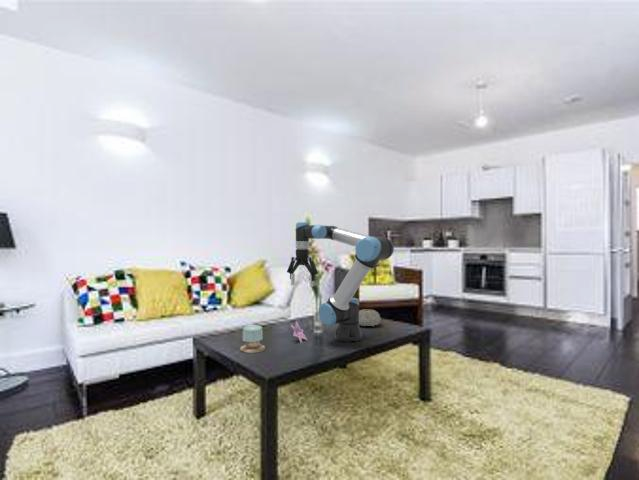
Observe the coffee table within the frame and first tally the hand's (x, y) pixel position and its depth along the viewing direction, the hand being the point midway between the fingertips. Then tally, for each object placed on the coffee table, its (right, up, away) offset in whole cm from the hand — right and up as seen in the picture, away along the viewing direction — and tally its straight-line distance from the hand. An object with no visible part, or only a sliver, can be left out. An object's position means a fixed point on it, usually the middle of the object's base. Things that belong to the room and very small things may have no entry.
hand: (302, 285), depth 212 cm
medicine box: (-27, -29, -12) cm, 41 cm away
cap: (-24, -24, -26) cm, 42 cm away
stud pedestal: (-24, -29, -26) cm, 46 cm away
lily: (-2, -29, -10) cm, 31 cm away
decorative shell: (+41, -29, +27) cm, 57 cm away
